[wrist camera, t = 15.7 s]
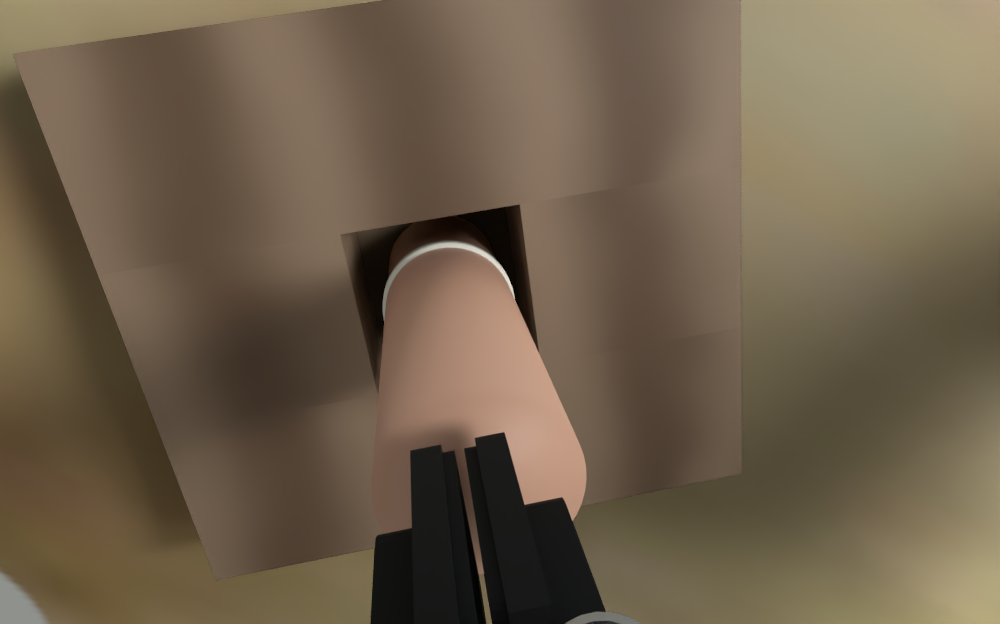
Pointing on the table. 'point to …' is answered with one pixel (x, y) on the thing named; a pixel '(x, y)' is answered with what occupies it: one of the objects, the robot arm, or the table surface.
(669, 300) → the board
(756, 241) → the table surface
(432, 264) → the peg
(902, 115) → the table surface
